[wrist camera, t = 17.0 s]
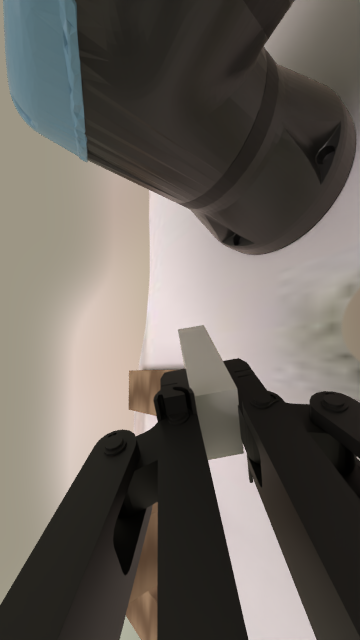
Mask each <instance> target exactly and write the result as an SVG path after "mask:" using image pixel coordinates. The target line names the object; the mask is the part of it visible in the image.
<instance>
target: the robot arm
mask: <svg viewBox="0 0 360 640" xmlns="http://www.w3.org/2000/svg"><path fill="white" fill-rule="evenodd" d="M294 1H295V0H3V9H4V32H5V52H6V65H7V76H8V83H9V89H10V94H11V97H12V100H13V102H14V105H15V107H16V109H17V111H18V113H19V114H20V116H21V117H22V118H23V120H24V121H25V122H26V123H27V124H28V125H29V126H30V127H31V128H32V129H34V130H35V131H36V132H38V133H39V134H41V135H43V136H45V137H46V138H48V139H50V140H51V141H53V142H55V143H57V144H58V145H60V146H62V147H64V148H65V149H67V150H69V151H70V152H72V153H74V154H75V155H77V156H79V158H80V159H82V160H83V161H85V162H87V161H90V162H92V163H94V164H96V165H99V166H101V167H103V168H105V169H107V170H109V171H111V172H113V173H115V174H117V175H119V176H122V177H124V178H126V179H128V180H130V181H132V182H134V183H136V184H138V185H140V186H143V187H145V188H147V189H149V190H151V191H153V192H155V193H157V194H159V195H161V196H163V197H165V198H168V199H170V200H172V201H174V202H176V203H178V204H180V205H182V206H184V207H186V208H188V209H190V210H191V211H192V212H193V213H194V214H195V215H196V217H197V218H198V219H199V220H200V221H201V222H202V223H203V224H204V225H205V227H206V228H207V229H208V230H209V231H210V232H211V233H212V234H213V235H214V237H215V238H216V239H217V240H218V241H219V242H221V243H222V244H224V245H225V246H227V247H229V248H232V249H234V250H236V251H239V252H241V253H245V254H252V255H257V254H265V253H269V252H273V251H276V250H278V249H280V248H283V247H285V246H287V245H288V244H290V243H292V242H294V241H295V240H297V239H298V238H299V237H301V236H302V235H303V234H305V233H306V232H307V231H308V230H310V229H311V228H312V227H313V226H314V225H315V224H316V223H317V222H318V221H319V220H320V219H321V218H322V216H323V215H324V214H325V213H326V212H327V210H328V209H329V208H330V207H331V205H332V204H333V202H334V201H335V199H336V198H337V196H338V194H339V193H340V191H341V189H342V187H343V185H344V183H345V181H346V179H347V177H348V174H349V172H350V169H351V166H352V162H353V158H354V153H355V146H356V133H355V127H354V123H353V120H352V117H351V115H350V114H349V112H348V110H347V109H346V107H345V105H344V104H343V102H342V101H341V99H340V98H339V96H338V95H337V94H336V93H335V92H334V91H333V90H332V89H330V88H329V87H327V86H326V85H324V84H321V83H319V82H317V81H314V80H312V79H310V78H308V77H305V76H303V75H301V74H299V73H296V72H294V71H292V70H289V69H287V68H285V67H283V66H280V65H278V64H277V63H276V62H275V61H274V60H273V58H272V57H271V56H270V55H269V53H268V52H267V51H266V49H265V48H264V47H263V46H264V45H265V43H266V42H267V40H268V39H269V37H270V36H271V34H272V33H273V31H274V30H275V28H276V27H277V25H278V24H279V22H280V21H281V19H282V18H283V17H284V15H285V14H286V12H287V11H288V10H289V8H290V7H291V5H292V4H293V2H294ZM178 332H179V338H180V344H181V350H182V356H183V362H184V368H185V369H180V370H175V371H169V372H165V373H164V374H163V376H162V377H161V379H160V386H161V387H160V391H158V392H157V394H156V395H155V396H154V399H153V401H154V406H155V410H156V415H157V420H158V423H157V424H156V425H155V426H154V427H153V428H151V429H150V430H148V431H147V432H145V433H143V434H140V435H138V436H136V437H135V434H134V433H132V432H131V431H128V430H117V431H113V432H111V433H109V434H107V435H105V436H104V437H103V438H101V439H100V440H99V441H98V442H97V444H96V445H95V446H94V448H93V450H92V452H91V453H90V455H89V456H88V458H87V460H86V461H85V463H84V465H83V466H82V468H81V470H80V472H79V473H78V475H77V477H76V478H75V480H74V482H73V483H72V485H71V487H70V488H69V490H68V492H67V493H66V495H65V497H64V499H63V500H62V502H61V504H60V505H59V507H58V509H57V510H56V512H55V514H54V515H53V517H52V519H51V521H50V522H49V524H48V526H47V527H46V529H45V531H44V532H43V534H42V536H41V537H40V539H39V541H38V543H37V544H36V546H35V548H34V549H33V551H32V553H31V554H30V556H29V558H28V559H27V561H26V563H25V564H24V566H23V568H22V570H21V571H20V573H19V575H18V576H17V578H16V580H15V581H14V583H13V585H12V586H11V588H10V590H9V591H8V593H7V595H6V597H5V598H4V600H3V602H2V603H1V605H0V640H119V639H120V635H121V631H122V628H123V624H124V620H125V615H126V612H127V608H128V604H129V600H130V596H131V592H132V588H133V584H134V580H135V576H136V572H137V568H138V564H139V560H140V556H141V552H142V548H143V544H144V540H145V536H146V532H147V528H148V524H149V520H150V516H151V512H152V505H153V504H155V503H157V502H158V557H157V640H248V636H247V632H246V627H245V623H244V619H243V614H242V610H241V605H240V601H239V596H238V592H237V588H236V583H235V579H234V574H233V570H232V565H231V561H230V556H229V552H228V548H227V543H226V539H225V534H224V530H223V525H222V521H221V517H220V512H219V508H218V503H217V499H216V494H215V490H214V486H213V481H212V477H211V472H210V468H209V463H208V460H210V459H216V458H221V457H226V456H231V455H237V454H242V453H244V452H243V445H244V447H245V450H246V452H247V460H248V471H249V480H250V483H252V482H253V479H254V482H255V484H256V487H257V489H258V492H259V494H260V497H261V499H262V502H263V504H264V507H265V509H266V512H267V515H268V517H269V520H270V522H271V525H272V527H273V530H274V532H275V535H276V537H277V540H278V543H279V545H280V548H281V550H282V553H283V555H284V558H285V560H286V563H287V565H288V568H289V571H290V573H291V576H292V578H293V581H294V583H295V586H296V588H297V591H298V593H299V596H300V599H301V601H302V604H303V606H304V609H305V611H306V614H307V616H308V619H309V621H310V624H311V626H312V629H313V632H314V634H315V637H316V639H317V640H360V461H359V460H358V459H357V458H356V456H357V457H359V458H360V403H359V402H358V401H356V400H354V399H352V398H351V397H348V396H346V395H344V394H341V393H336V392H326V391H324V392H319V393H316V394H314V395H313V396H311V399H310V405H309V404H291V403H285V402H284V401H283V399H282V398H281V397H280V396H278V395H277V394H275V393H273V392H270V391H267V390H266V389H265V387H264V386H263V384H262V383H261V382H260V380H259V379H258V377H257V376H256V375H255V373H254V372H253V370H251V368H250V366H249V365H248V364H247V362H245V361H243V360H241V359H239V358H238V359H232V360H227V361H222V359H221V357H220V355H219V353H218V351H217V349H216V347H215V346H214V344H213V342H212V340H211V338H210V336H209V334H208V332H207V330H206V329H205V327H204V325H202V326H196V327H190V328H185V329H179V330H178Z"/></svg>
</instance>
